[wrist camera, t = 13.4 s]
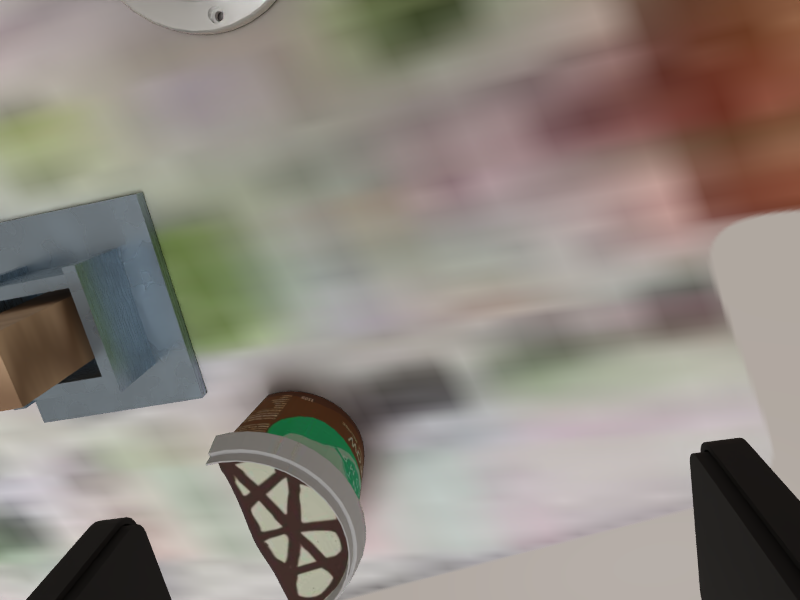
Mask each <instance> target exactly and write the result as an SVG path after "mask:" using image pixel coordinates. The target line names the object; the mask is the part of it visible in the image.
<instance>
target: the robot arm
mask: <svg viewBox="0 0 800 600" xmlns="http://www.w3.org/2000/svg"><path fill="white" fill-rule="evenodd" d="M121 1H122V2H123V3H124V4H125V5H126V6H128V7H129V8H130V9H131V10H132V11H134V12H135V13H137V14H138V15H140V16H142V17H144V18H145V19H147V20H149V21H150V22H152V23H154V24H157V25H160V26H162V27H165V28H168V29H171V30H174V31H179V32H183V33H188V34H206V35H211V34H217V33H222V32H227V31H231V30H234V29H236V28H238V27H241V26H243V25H245V24H248V23H250V22H251V21H253V20H254V19H255V18H257V17H258V16H260V15H261V14H262V13H264V12H265V11H267V10H268V8H269V7H270V6H271V5H272V4H273V3H274V2H275V1H276V0H121ZM220 12H222V13H223V19H222V21H219V20H218V14H219V13H220ZM690 469H691V481H692V494H693V507H694V519H695V532H696V545H697V557H698V569H699V582H700V593H701V598H702V600H800V501H799V500H798V499H797V498H796V496H795V495H794V494H793V493H792V492H791V491H790V490H789V489H788V487H787V486H786V485H785V484H784V483H783V482H782V481H781V480H780V478H779V477H778V476H777V475H776V474H775V473H774V472H773V471H772V469H771V468H770V467H769V466H768V465H767V464H766V463H765V462H764V460H763V459H762V458H761V457H760V456H759V455H758V454H757V453H756V451H755V450H754V449H753V448H752V447H751V446H750V445H749V444H748V443H747V441H745V440H744V439H743V438H734V439H726V440H719V441H711V442H704V443H703V444H702V445H701V453H693V454H691V456H690ZM26 600H171V597H170V595H169V592H168V589H167V587H166V584H165V581H164V579H163V576H162V574H161V571H160V568H159V566H158V563H157V560H156V558H155V555H154V553H153V550H152V547H151V545H150V542H149V539H148V537H147V534H146V532H145V530H144V528H143V527H142V526H141V525H138V524H136V522H135V521H134V520H133V519H132V518H128V517H125V518H117V519H110V520H102V521H98V522H95V523H94V524H92V525H91V526H90V527H89V528H88V530H87V531H86V532H85V533H84V534H83V535H82V536H81V538H80V539H79V540H78V541H77V542H76V543H75V544H74V546H73V547H72V548H71V549H70V550H69V551H68V552H67V554H66V555H65V556H64V557H63V558H62V559H61V560H60V562H59V563H58V564H57V565H56V566H55V567H54V568H53V570H52V571H51V572H50V573H49V574H48V575H47V576H46V578H45V579H44V580H43V581H42V582H41V583H40V584H39V586H38V587H37V588H36V589H35V590H34V591H33V592H32V594H31V595H30V596H29V597H28V598H27V599H26Z"/></svg>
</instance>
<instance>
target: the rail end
mask: <svg viewBox="0 0 800 600" xmlns="http://www.w3.org/2000/svg"><path fill="white" fill-rule="evenodd" d="M94 358H95V357H94V354H93V351H92V348H91V346H90V343H89V340H88V338H87V335H86V332H85V330H84V327H83V324H82V322H81V319H80V316H79V314H78V311H77V308H76V306H75V303H74V300H73V298H72V295H71V292H70V289H69V288H66V289H61V290H55V291H50V292H46V293H44V294H42V295H40V296H37V297H35V298H33V299H31V300H28V301H26V302H24V303H22V304H19V305H17V306H15V307H13V308H10V309H8V310H6V311H4V312H1V313H0V411H5V410H11V409H17V408H22V407H24V406H26V405H27V404H29V403H30V402H31V401H33V400H34V399H36V398H37V397H39V396H40V395H42V394H43V393H45V392H46V391H47V390H49V389H50V388H52V387H53V386H55V385H56V384H58V383H59V382H61V381H62V380H63V379H65V378H66V377H68V376H69V375H71V374H72V373H74V372H75V371H77V370H78V369H79V368H81V367H82V366H84V365H85V364H87V363H88V362H90V361H91V360H93V359H94Z"/></svg>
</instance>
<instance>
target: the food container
mask: <svg viewBox="0 0 800 600" xmlns="http://www.w3.org/2000/svg"><path fill="white" fill-rule="evenodd" d="M208 454H209V456H210V458H209V460H208V461H207V463H206V465H211V464H216V463H219V465H220V468H221V470H222V472H223V473H224V474H225V476H226V478H227V480H228V481H229V483H230V485H231V487H232V489H233V492H234V494H235V496H236V498H237V500H238V502H239V505H240V507H241V509H242V512H243V514H244V517H245V519H246V522H247V525H248V527H249V530H250V532H251V534H252V537H253V539H254V541H255V543H256V545H257V547H258V548H259V550H260V552H261V553H262V555H263V556H264V558H265V559H266V561H267V562H268V564H269V565H270V567H271V568H272V570H273V572H274V573H275V575H276V577H277V579H278V581H279V583H280V585H281V587H282V589H283V591H284V592H285V594H286V596H287V598H288V600H337V599H338V598H339V597H340V596H341V595H342V593H343V592H344V590H345V589H346V587H347V586H348V584H349V582H350V581H351V579H352V577H353V575H354V573H355V571H356V569H357V567H358V565H359V562H360V560H361V558H362V555H363V551H364V546H365V542H366V526H365V519H364V513H363V510H362V508H361V505H360V502H359V499H360V490H361V482H362V473H363V465H364V448H363V441H362V438H361V435H360V432H359V430H358V429H357V427H356V425H355V423H354V422H353V421H352V419H351V418H350V417H349V416H348V415H347V414H346V413H345V412H344V411H343V410H342V409H341V408H339V407H338V406H337V405H335V404H334V403H332V402H330V401H328V400H326V399H324V398H322V397H319V396H317V395H314V394H310V393H304V392H294V391H288V392H279V393H275V394H270V395H268V396H267V397H266V398H265V399H264V400H263V401H262V402H261V403H260V405H259V406H258V407H257V408H256V409H255V410H254V411H253V412H252V413H251V414H250V415H249V416H248V417H247V418H246V420H245V421H244V422H243V423H242V424H241V425H240V426H239V427H238V428H237V429H236V430H235V431H234V432H232V433H226V434H222V435H217V436H216V437H215V439H214V441H213V444H212V446H211V448H210V451H209V453H208Z"/></svg>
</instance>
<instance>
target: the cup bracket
mask: <svg viewBox="0 0 800 600" xmlns="http://www.w3.org/2000/svg"><path fill="white" fill-rule="evenodd" d="M66 288H69V289H70V292H71V295H72V298H73V300H74V303H75V306H76V308H77V311H78V314H79V316H80V319H81V322H82V324H83V327H84V330H85V332H86V335H87V338H88V340H89V343H90V346H91V348H92V351H93V354H94V357H95V358H94V359H93V360H91V361H90V362H88V363H87V364H85V365H84V366H82V367H81V368H79V369H78V370H77V371H75V372H74V373H72V374H71V375H69V376H68V377H66V378H65V379H63V380H62V381H61V382H59V383H58V384H56V385H55V386H53V387H52V388H50V389H49V390H47V391H46V392H45V393H43V394H42V395H40V396H39V397H37V398H36V399H34V400H33V401H31V402H30V403H29V404H27V405H26V406H24V407H22V408H17V409H14V410H18V409H24V408H27V407H28V406H30V405H31V404H33V403H34V402H35V401H36V404H37V406H38V409H39V411H40V414H41V416H42V418H43V421H44V423H45V422H52V421H58V420H65V419H71V418H77V417H84V416H90V415H96V414H103V413H109V412H116V411H122V410H128V409H135V408H141V407H148V406H154V405H160V404H167V403H173V402H179V401H186V400H192V399H199V398H203V397H204V395H205V394H206V393H207V391H206V388H205V385H204V382H203V379H202V376H201V373H200V370H199V366H198V363H197V360H196V357H195V354H194V351H193V348H192V345H191V342H190V339H189V335H188V332H187V329H186V326H185V323H184V320H183V317H182V314H181V311H180V308H179V304H178V301H177V298H176V295H175V292H174V289H173V286H172V283H171V280H170V277H169V273H168V270H167V267H166V264H165V261H164V258H163V255H162V252H161V249H160V246H159V242H158V239H157V236H156V233H155V230H154V227H153V224H152V221H151V218H150V214H149V211H148V208H147V205H146V202H145V199H144V196H143V193H137V194H133V195H128V196H123V197H118V198H114V199H109V200H104V201H99V202H95V203H90V204H85V205H80V206H76V207H71V208H66V209H61V210H57V211H52V212H47V213H42V214H38V215H33V216H28V217H23V218H19V219H14V220H9V221H4V222H0V313H1V312H4V311H6V310H8V309H10V308H13V307H15V306H17V305H19V304H22V303H24V302H26V301H28V300H31V299H33V298H35V297H37V296H40V295H42V294H44V293H46V292H50V291H55V290H61V289H66Z"/></svg>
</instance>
